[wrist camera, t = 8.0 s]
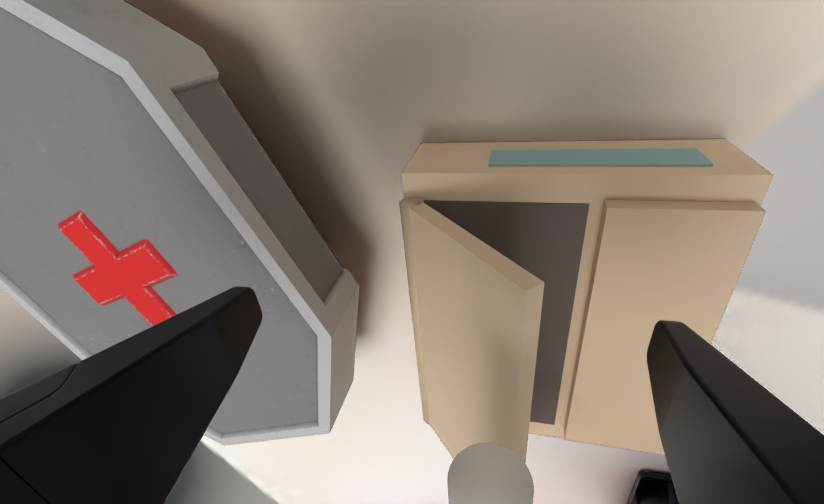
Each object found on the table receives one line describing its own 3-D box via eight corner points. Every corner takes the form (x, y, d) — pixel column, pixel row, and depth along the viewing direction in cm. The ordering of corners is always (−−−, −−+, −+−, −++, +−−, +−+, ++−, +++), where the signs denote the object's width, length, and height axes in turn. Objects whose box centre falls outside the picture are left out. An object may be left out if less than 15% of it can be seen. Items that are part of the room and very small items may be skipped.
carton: (644, 393, 25) (666, 467, 21) (438, 368, 28) (424, 428, 25) (728, 136, 17) (789, 181, 13) (421, 141, 20) (396, 178, 16)
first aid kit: (426, 325, 27) (162, -114, 17) (396, 425, 21) (-45, -172, 11) (243, 367, 34) (-14, 79, 24) (181, 450, 28) (-196, 110, 18)
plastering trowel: (579, 605, 16) (480, 694, 14) (434, 407, 25) (360, 447, 23) (663, 355, 9) (482, 473, 7) (416, 194, 17) (304, 229, 15)
